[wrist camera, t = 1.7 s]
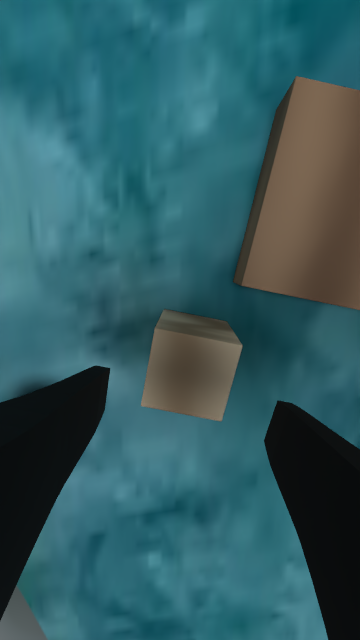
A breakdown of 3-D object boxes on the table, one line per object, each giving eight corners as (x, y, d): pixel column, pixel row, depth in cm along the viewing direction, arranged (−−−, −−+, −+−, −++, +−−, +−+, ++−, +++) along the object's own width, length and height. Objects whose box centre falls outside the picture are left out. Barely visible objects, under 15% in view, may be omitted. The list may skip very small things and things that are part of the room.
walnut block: (435, 150, 14) (498, 121, 11) (370, 309, 17) (409, 320, 14) (273, 114, 14) (296, 75, 11) (231, 281, 16) (241, 285, 14)
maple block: (226, 321, 17) (242, 345, 12) (212, 378, 18) (221, 421, 13) (164, 308, 17) (154, 328, 12) (153, 366, 18) (140, 405, 13)
